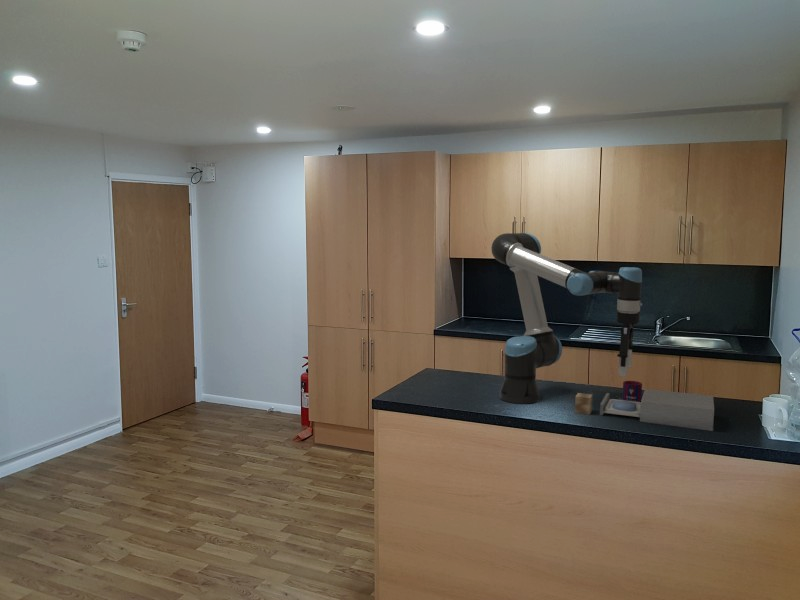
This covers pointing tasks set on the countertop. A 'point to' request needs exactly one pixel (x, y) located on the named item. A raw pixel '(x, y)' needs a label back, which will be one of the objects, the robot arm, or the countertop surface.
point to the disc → (624, 405)
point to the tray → (607, 408)
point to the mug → (632, 391)
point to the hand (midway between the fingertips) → (624, 371)
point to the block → (583, 403)
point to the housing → (677, 409)
